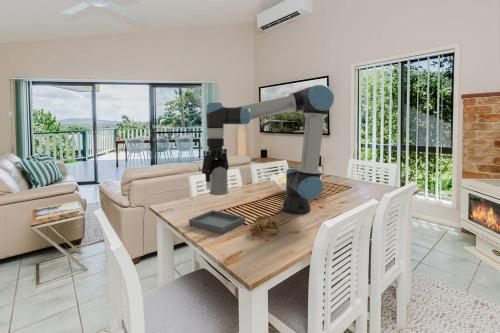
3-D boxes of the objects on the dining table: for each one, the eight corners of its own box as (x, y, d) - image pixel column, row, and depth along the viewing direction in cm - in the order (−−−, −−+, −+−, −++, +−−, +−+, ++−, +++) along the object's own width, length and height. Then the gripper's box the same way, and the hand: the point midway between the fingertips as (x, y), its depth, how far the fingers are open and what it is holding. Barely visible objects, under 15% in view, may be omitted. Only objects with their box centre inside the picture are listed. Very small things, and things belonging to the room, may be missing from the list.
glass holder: (211, 195, 131) (210, 162, 129) (206, 188, 144) (205, 158, 142) (230, 194, 133) (229, 161, 131) (224, 187, 147) (223, 157, 144)
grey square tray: (244, 223, 142) (244, 217, 142) (222, 234, 128) (222, 228, 128) (212, 215, 153) (212, 210, 153) (189, 225, 139) (188, 219, 139)
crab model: (276, 240, 123) (276, 227, 122) (246, 236, 126) (246, 224, 126) (282, 226, 138) (282, 215, 137) (255, 224, 141) (255, 213, 140)
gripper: (223, 136, 145) (224, 181, 149) (192, 138, 127) (193, 190, 131) (236, 136, 141) (236, 183, 145) (205, 139, 123) (206, 192, 127)
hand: (216, 186), depth 138 cm, fingers closed on glass holder, 9 cm apart
